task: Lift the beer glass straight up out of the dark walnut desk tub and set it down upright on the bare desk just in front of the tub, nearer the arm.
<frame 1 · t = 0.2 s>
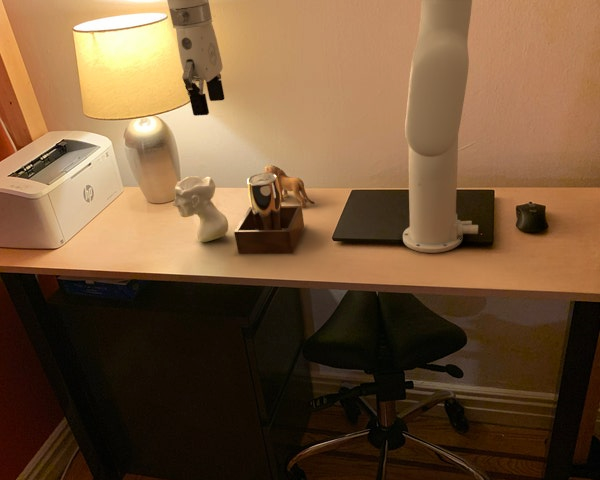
hand: (209, 107, 121), 31 cm above the table, tool pointing down, fingers open, 9 cm apart
tub: (272, 239, 136), on the table
lion figurine: (289, 202, 153), on the table
beer glass: (272, 240, 136), resting in tub
white sculpted bust: (207, 241, 140), on the table
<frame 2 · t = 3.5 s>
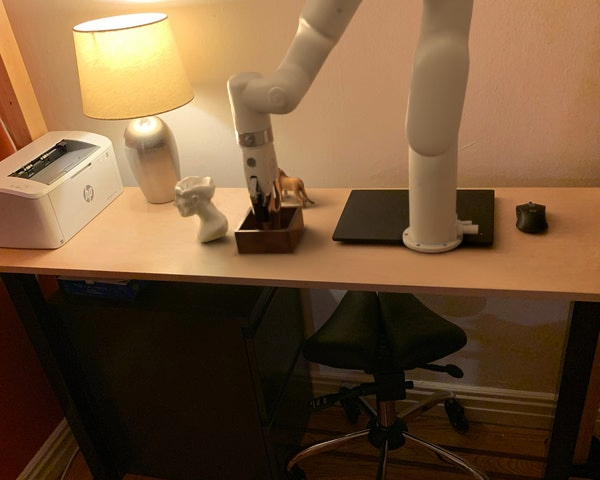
hand: (267, 213, 132), 7 cm above the table, tool pointing down, fingers closed on beer glass, 7 cm apart
beer glass: (272, 240, 136), resting in tub, touching gripper
everything else where it was.
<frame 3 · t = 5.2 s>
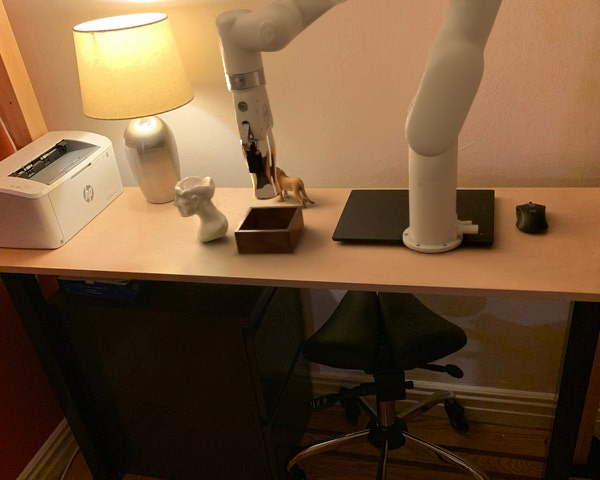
hand: (261, 164, 126), 18 cm above the table, tool pointing down, fingers closed on beer glass, 7 cm apart
beer glass: (267, 195, 130), point 11 cm above the table, touching gripper
everything else where it was.
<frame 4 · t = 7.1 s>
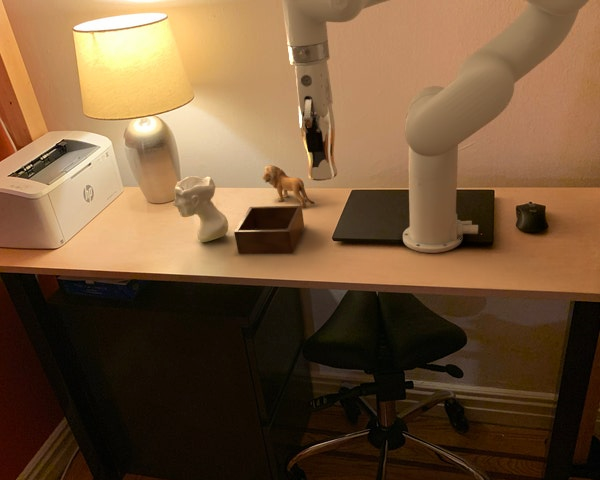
hand: (319, 144, 121), 22 cm above the table, tool pointing down, fingers closed on beer glass, 7 cm apart
beer glass: (323, 176, 124), point 15 cm above the table, touching gripper
everything else where it was.
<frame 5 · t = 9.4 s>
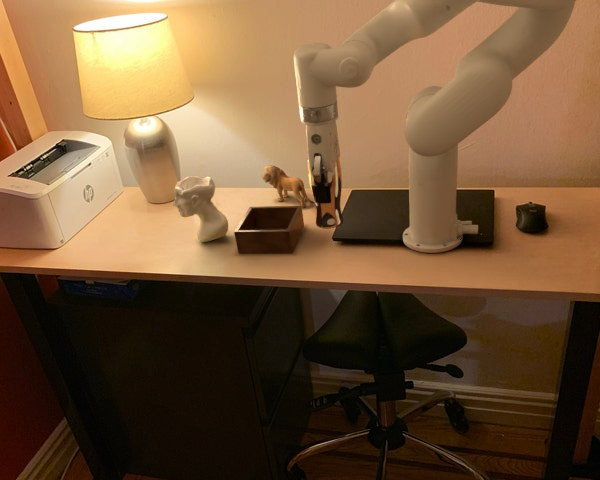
hand: (326, 194, 127), 11 cm above the table, tool pointing down, fingers closed on beer glass, 7 cm apart
beer glass: (329, 223, 130), point 4 cm above the table, touching gripper
everything else where it was.
when the fingers open (7 cm above the table, at t = 11.0 s): beer glass stays where it is, on the table.
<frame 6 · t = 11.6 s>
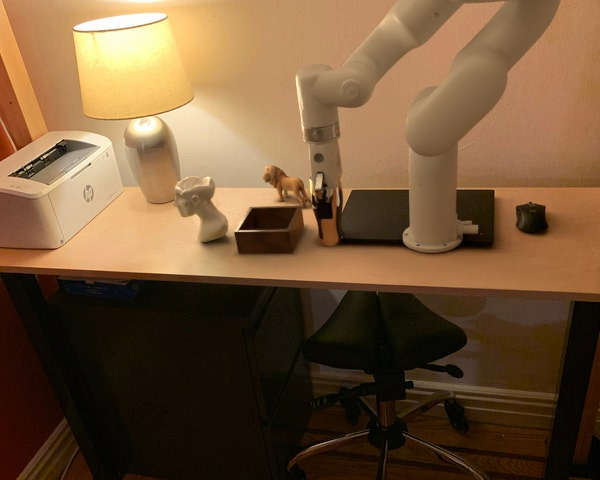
hand: (329, 208, 128), 8 cm above the table, tool pointing down, fingers open, 9 cm apart
beer glass: (331, 240, 133), on the table
everything else where it was.
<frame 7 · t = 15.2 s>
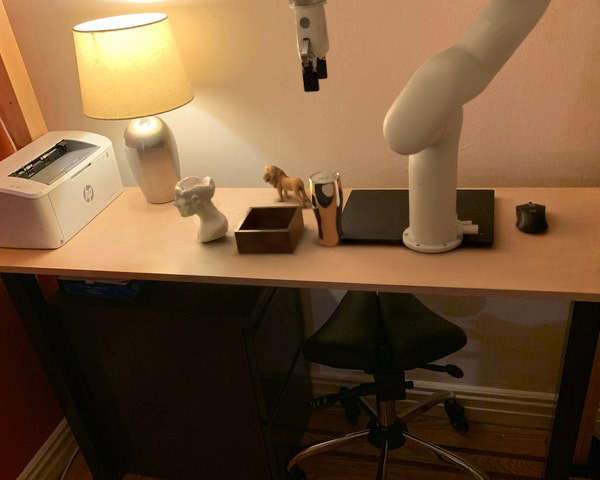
hand: (316, 84, 128), 30 cm above the table, tool pointing down, fingers open, 9 cm apart
nothing on the table moved.
at the end: beer glass inside the target area (0.2 cm from its centre), on the table; beer glass tilted 0°; the gripper is holding nothing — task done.
